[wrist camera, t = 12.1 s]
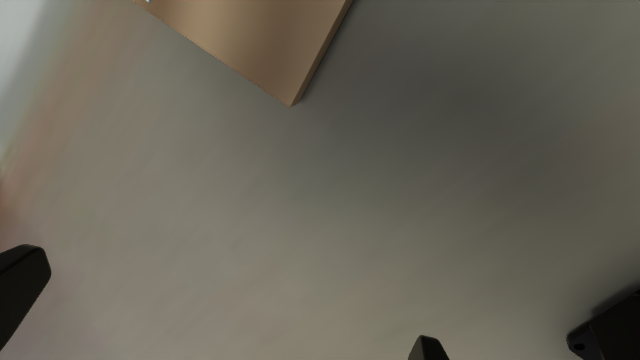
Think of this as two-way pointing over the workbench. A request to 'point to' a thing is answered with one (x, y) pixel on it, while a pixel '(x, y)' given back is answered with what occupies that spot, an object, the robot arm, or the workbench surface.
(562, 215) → the workbench surface
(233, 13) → the board
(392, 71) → the workbench surface
